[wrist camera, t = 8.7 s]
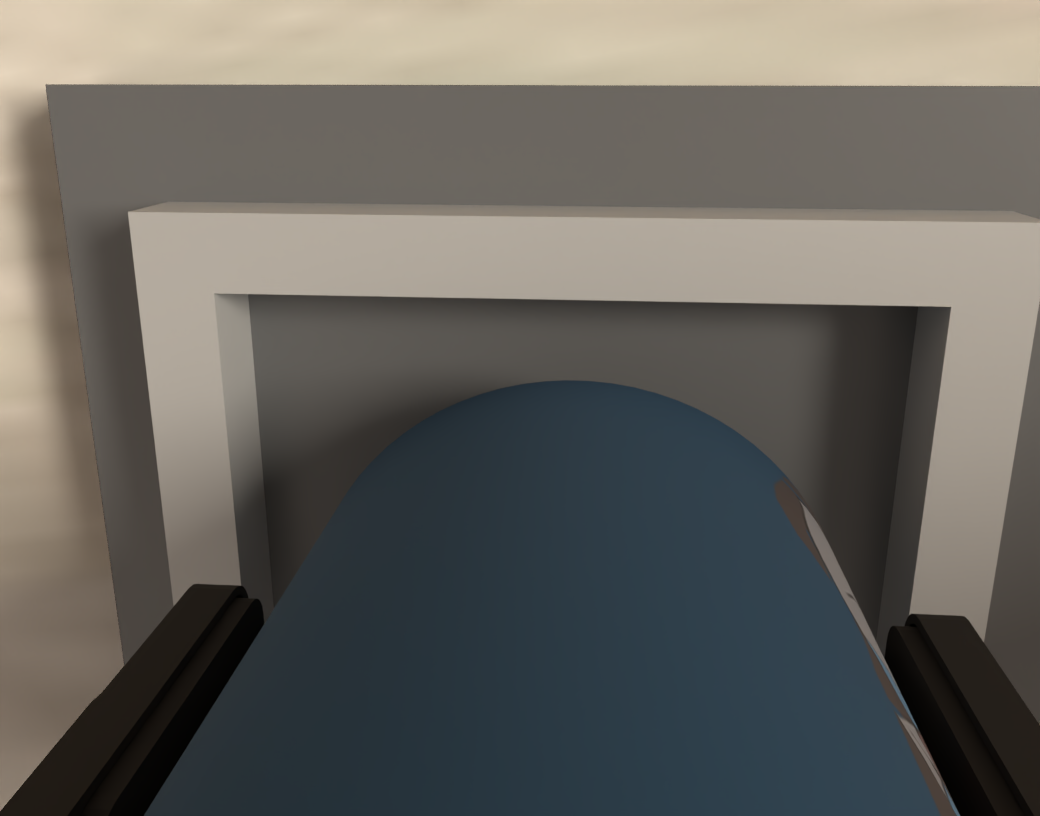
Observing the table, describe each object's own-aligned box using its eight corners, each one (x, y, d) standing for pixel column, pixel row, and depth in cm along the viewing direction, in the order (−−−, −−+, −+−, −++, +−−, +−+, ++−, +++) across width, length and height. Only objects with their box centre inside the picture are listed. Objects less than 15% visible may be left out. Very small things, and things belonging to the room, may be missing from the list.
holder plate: (90, 84, 14) (-8, 83, 12) (1111, 87, 13) (1217, 86, 11) (187, 877, 18) (128, 988, 16) (964, 927, 17) (1018, 1053, 15)
